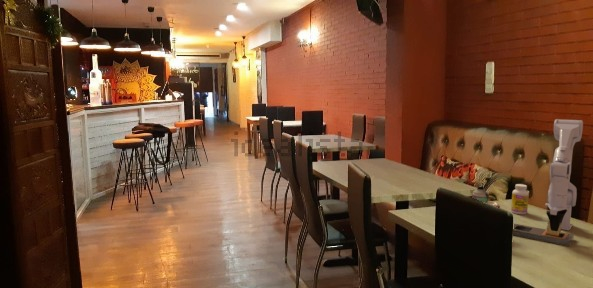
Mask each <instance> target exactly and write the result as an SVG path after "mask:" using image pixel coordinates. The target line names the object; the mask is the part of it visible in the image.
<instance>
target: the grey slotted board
mask: <svg viewBox="0 0 593 288" xmlns="http://www.w3.org/2000/svg"><path fill="white" fill-rule="evenodd" d="M546 234H547V228H545V229H544V228H540V227H534V226H529V225H524V224H518V223H514V229H513V235H512V236H516V237H520V238H526V239H531V240H535V241H541V242H546V243H551V244H556V245H561V246H565V247H566V246H567V247H570V246H571V244H573V241H574V238H575V237H574V236H575V235H574V234H572V233H568V232H567V233H566V232H561V234H560V237H555V236H550V235H546Z"/></svg>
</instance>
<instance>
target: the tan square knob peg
mask: <svg viewBox="0 0 593 288" xmlns="http://www.w3.org/2000/svg"><path fill="white" fill-rule="evenodd" d="M561 226H562V223H561V222H560V225H559V229H558V231H552V230H551V228H550V222H549V221H548V222H547V224H546V230H547V234H546V235H550V236H555V237H560V234H561V231H562V229H561Z"/></svg>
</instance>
